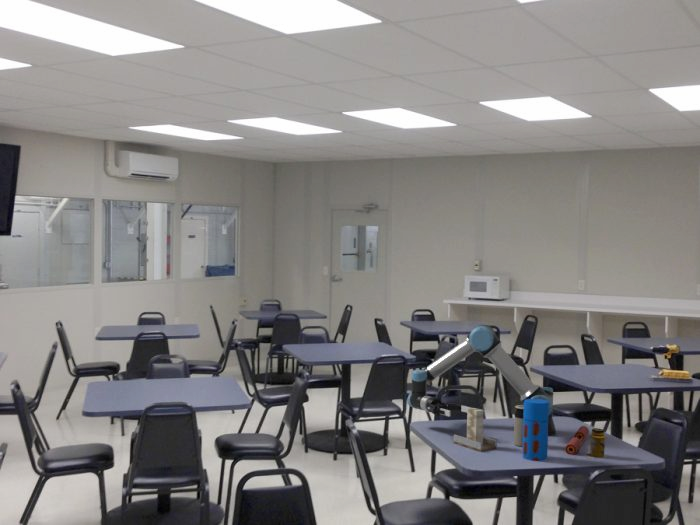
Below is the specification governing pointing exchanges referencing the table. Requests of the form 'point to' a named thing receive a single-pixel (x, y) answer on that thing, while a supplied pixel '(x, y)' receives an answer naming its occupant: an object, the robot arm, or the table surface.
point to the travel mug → (518, 425)
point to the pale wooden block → (475, 424)
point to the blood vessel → (577, 440)
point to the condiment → (597, 444)
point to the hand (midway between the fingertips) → (460, 412)
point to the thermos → (535, 429)
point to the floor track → (476, 443)
